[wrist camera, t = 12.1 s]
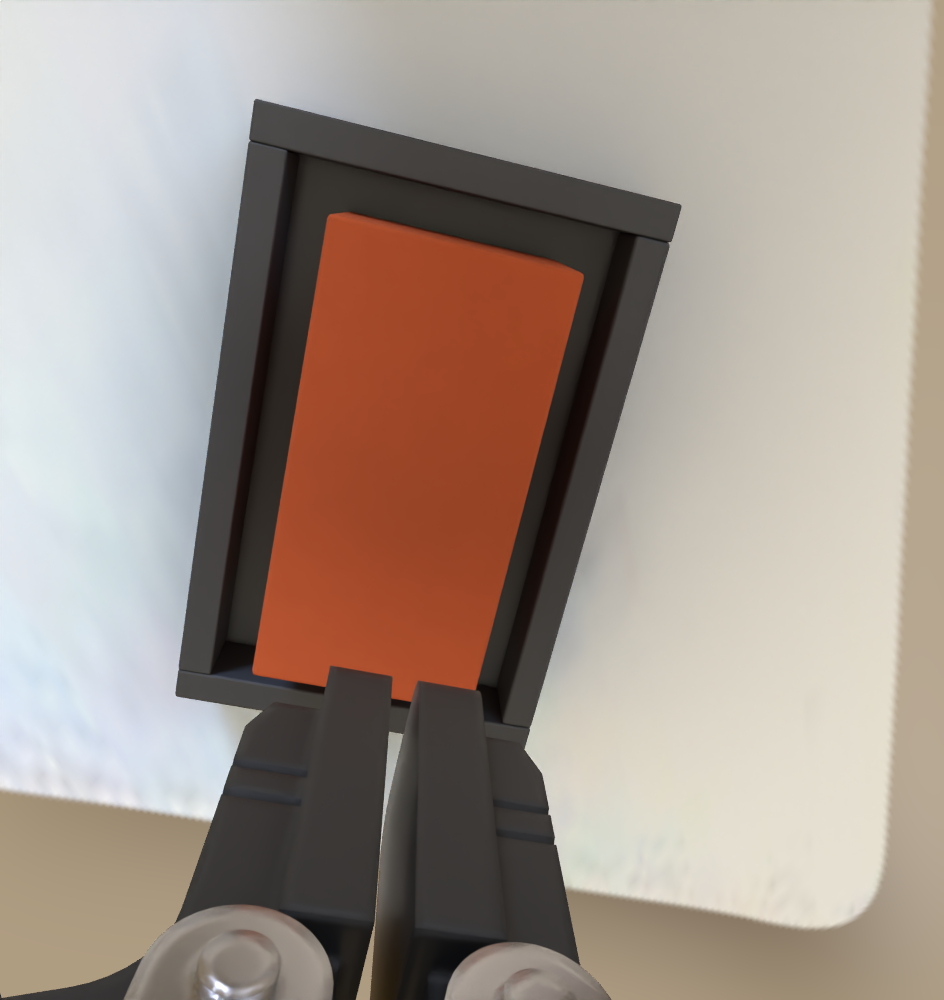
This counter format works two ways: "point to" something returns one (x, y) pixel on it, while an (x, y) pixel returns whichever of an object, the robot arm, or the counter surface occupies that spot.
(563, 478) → the tray
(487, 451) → the orange-red rectangular block
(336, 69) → the counter surface
